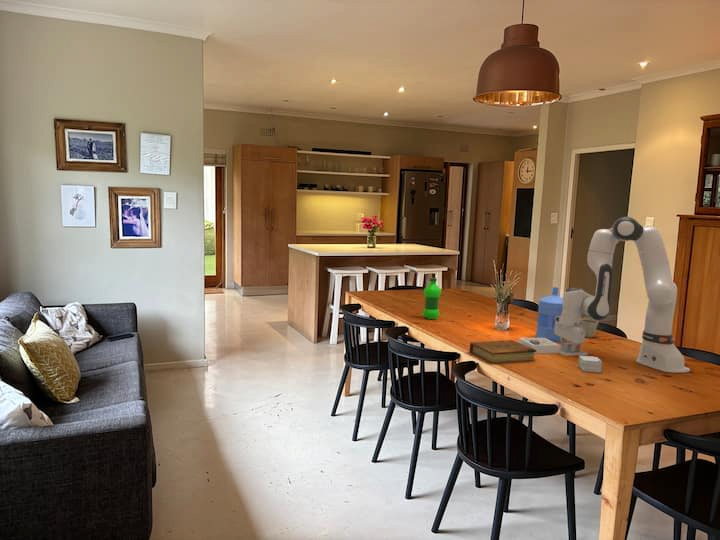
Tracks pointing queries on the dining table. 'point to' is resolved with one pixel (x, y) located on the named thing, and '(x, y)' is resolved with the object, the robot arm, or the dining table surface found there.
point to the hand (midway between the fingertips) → (567, 348)
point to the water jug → (549, 316)
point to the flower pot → (589, 327)
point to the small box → (590, 364)
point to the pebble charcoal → (535, 342)
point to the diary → (502, 351)
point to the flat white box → (541, 345)
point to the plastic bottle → (431, 299)
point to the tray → (572, 352)
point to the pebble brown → (577, 348)
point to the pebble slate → (567, 346)
